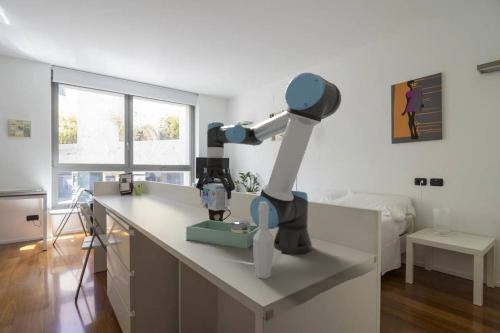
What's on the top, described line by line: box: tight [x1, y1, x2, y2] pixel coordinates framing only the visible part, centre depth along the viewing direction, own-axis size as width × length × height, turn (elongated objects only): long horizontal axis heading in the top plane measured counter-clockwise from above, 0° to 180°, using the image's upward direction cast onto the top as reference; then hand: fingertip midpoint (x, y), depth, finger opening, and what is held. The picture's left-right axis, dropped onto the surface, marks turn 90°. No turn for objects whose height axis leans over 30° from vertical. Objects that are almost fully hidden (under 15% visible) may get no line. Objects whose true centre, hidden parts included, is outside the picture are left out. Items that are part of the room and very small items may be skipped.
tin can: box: [230, 219, 251, 234], centre depth 109 cm, size 8×8×8 cm
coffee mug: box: [207, 208, 232, 222], centre depth 138 cm, size 12×9×10 cm
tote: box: [185, 219, 259, 249], centre depth 113 cm, size 30×16×6 cm, turn 65°
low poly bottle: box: [252, 202, 275, 279], centre depth 77 cm, size 6×6×22 cm
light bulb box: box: [202, 183, 228, 211], centre depth 115 cm, size 11×7×11 cm, turn 42°
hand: (215, 205), depth 115 cm, fingers closed on light bulb box, 12 cm apart
